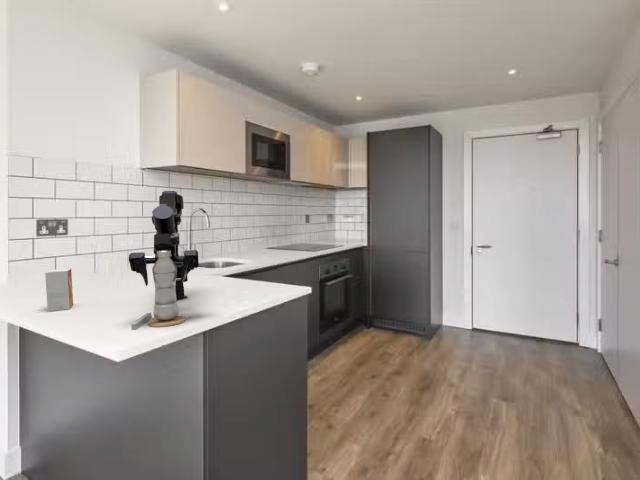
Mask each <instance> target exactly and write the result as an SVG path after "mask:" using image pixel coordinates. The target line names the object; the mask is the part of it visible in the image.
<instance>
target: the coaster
mask: <svg viewBox="0 0 640 480" xmlns="http://www.w3.org/2000/svg"><path fill="white" fill-rule="evenodd" d="M185 321H186V317H185V316H183V315H177V317H176V318H174V319H170V320H157V319H156V318H155V317H153V318H150V319H149V320H148V321H146V322H147V324H146V325H147V326H149V327H152V328H166V327H174V326H178V325H180V324H182V323H185Z"/></svg>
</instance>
